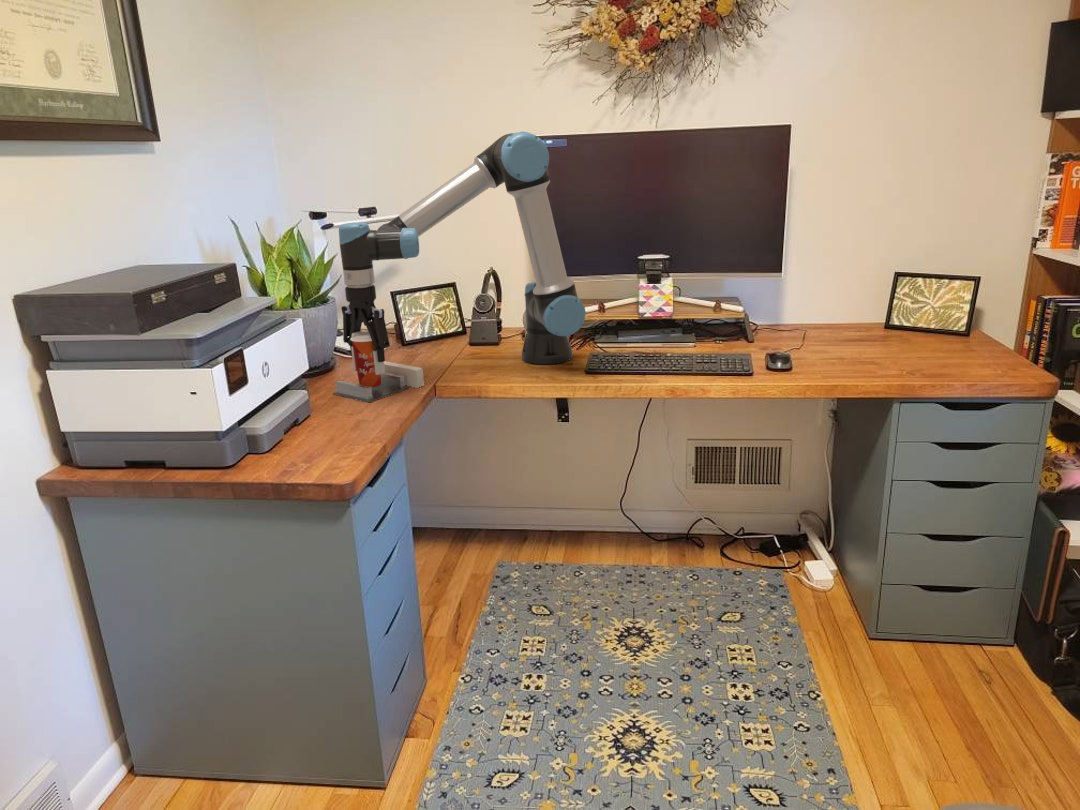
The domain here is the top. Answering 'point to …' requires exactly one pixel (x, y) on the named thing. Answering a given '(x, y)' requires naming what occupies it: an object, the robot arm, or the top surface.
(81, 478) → the top surface
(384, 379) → the bracket
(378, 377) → the paper cup
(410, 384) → the board
